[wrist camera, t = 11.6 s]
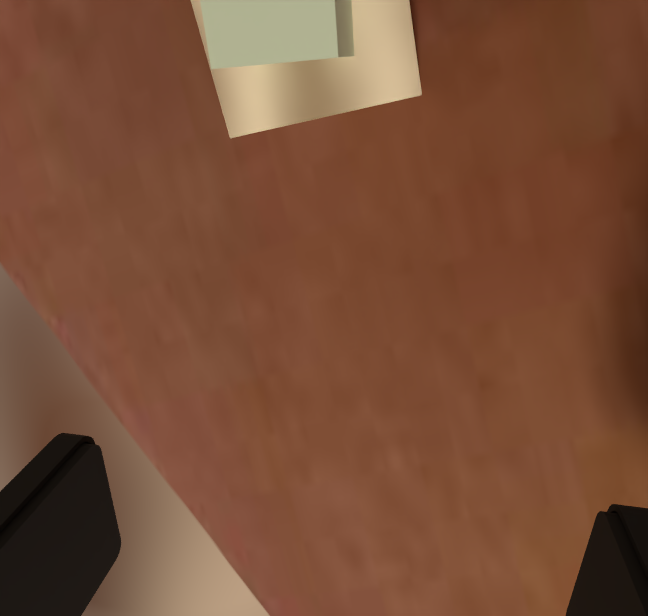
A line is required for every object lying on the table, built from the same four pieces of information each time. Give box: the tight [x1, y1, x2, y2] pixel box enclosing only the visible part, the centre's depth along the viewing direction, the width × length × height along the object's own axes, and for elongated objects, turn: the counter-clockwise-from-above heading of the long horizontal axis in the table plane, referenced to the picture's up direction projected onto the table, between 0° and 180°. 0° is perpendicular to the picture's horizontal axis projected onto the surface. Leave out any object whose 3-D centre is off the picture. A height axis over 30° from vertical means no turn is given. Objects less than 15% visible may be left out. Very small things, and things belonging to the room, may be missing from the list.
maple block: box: [191, 0, 422, 138], centre depth 26 cm, size 10×10×5 cm
